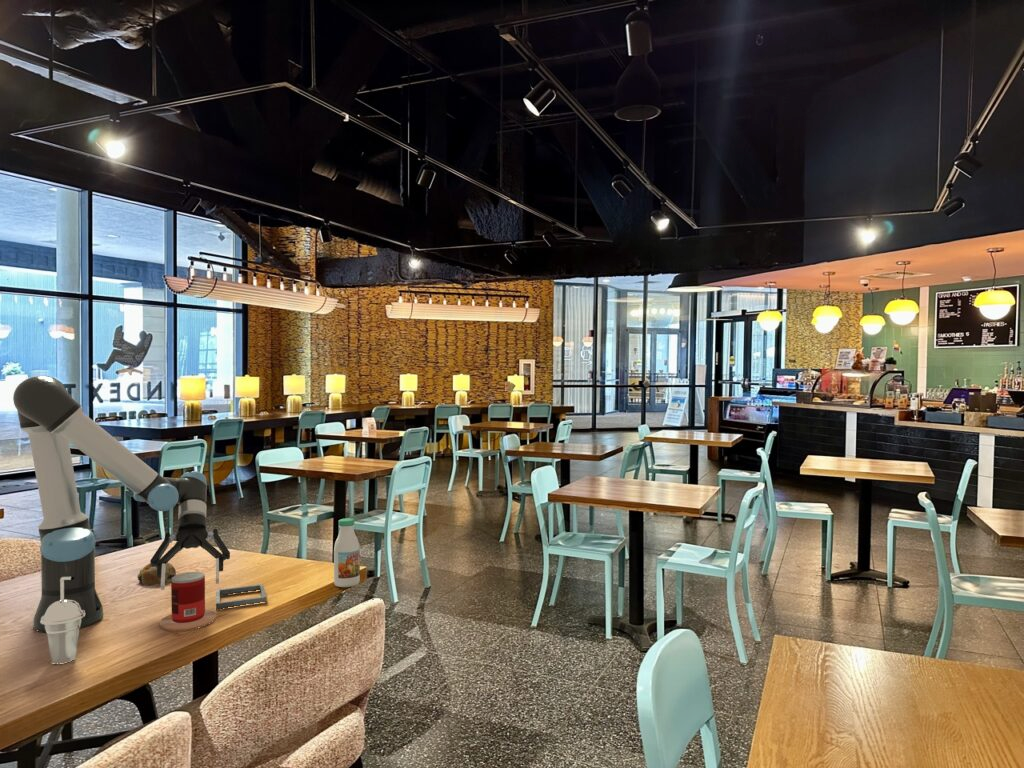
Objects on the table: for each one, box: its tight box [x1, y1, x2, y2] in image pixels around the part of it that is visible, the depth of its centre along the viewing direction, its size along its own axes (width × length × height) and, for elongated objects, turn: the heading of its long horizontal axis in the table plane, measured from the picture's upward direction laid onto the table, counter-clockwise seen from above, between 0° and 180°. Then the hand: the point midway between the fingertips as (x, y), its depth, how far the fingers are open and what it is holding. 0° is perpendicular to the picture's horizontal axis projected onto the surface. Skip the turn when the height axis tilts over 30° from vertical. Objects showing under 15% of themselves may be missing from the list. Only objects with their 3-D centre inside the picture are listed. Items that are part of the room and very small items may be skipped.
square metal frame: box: [215, 583, 267, 611], centre depth 190 cm, size 13×13×2 cm
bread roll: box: [136, 561, 177, 586], centre depth 208 cm, size 10×10×8 cm
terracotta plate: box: [160, 608, 217, 632], centre depth 173 cm, size 13×13×1 cm
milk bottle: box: [333, 517, 361, 588], centre depth 204 cm, size 8×8×20 cm
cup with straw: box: [40, 577, 86, 664], centre depth 149 cm, size 8×9×20 cm
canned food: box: [170, 571, 206, 623], centre depth 173 cm, size 8×8×11 cm
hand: (190, 584), depth 182 cm, fingers open, 13 cm apart
